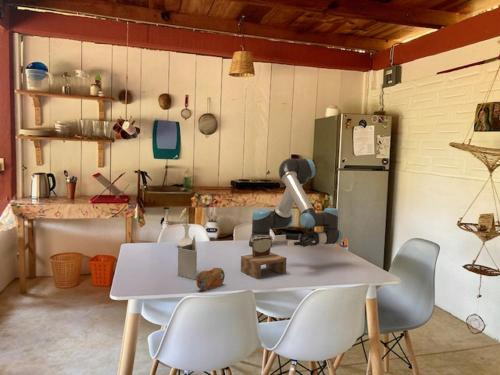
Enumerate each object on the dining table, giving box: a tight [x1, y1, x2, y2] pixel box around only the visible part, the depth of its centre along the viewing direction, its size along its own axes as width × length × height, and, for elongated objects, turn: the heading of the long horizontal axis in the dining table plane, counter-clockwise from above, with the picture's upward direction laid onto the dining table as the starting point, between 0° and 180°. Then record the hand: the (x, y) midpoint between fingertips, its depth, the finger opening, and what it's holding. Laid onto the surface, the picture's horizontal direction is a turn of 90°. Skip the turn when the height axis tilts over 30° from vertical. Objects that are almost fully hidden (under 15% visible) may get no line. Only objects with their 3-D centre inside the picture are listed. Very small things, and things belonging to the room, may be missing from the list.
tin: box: [195, 267, 226, 291], centre depth 177 cm, size 15×3×8 cm, turn 138°
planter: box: [177, 235, 198, 280], centre depth 194 cm, size 16×8×19 cm, turn 15°
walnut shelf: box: [240, 251, 288, 280], centre depth 202 cm, size 14×18×8 cm
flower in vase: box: [177, 208, 193, 247], centre depth 250 cm, size 13×11×25 cm
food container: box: [249, 235, 273, 258], centre depth 204 cm, size 12×6×10 cm, turn 123°
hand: (281, 241), depth 205 cm, fingers open, 13 cm apart
